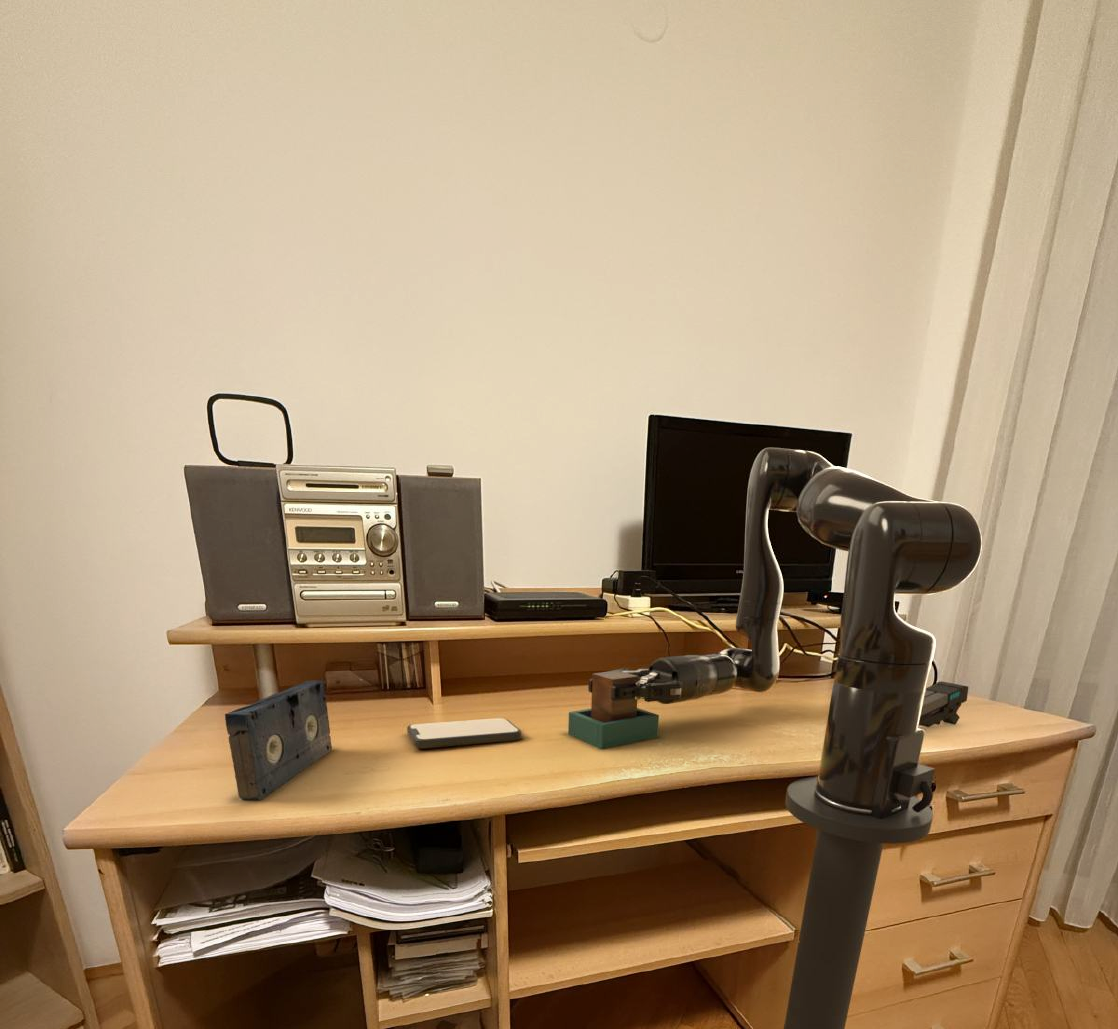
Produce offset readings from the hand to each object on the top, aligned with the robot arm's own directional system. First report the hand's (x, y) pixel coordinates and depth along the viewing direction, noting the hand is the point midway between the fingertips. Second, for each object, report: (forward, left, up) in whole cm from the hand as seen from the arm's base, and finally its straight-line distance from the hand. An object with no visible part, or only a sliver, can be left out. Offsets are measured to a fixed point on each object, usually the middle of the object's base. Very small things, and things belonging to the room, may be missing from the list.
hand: (601, 689), depth 88 cm
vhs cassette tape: (+9, +42, -8) cm, 44 cm away
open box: (0, -3, -8) cm, 8 cm away
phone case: (+11, +17, -8) cm, 22 cm away
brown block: (0, -3, -7) cm, 7 cm away
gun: (-24, -48, -8) cm, 54 cm away
